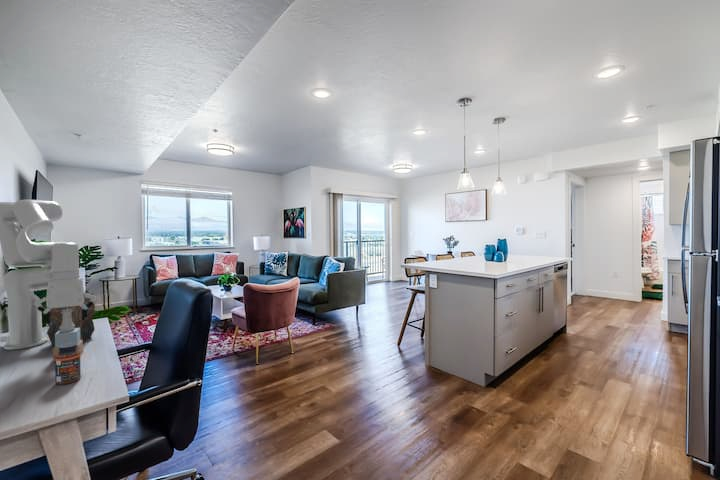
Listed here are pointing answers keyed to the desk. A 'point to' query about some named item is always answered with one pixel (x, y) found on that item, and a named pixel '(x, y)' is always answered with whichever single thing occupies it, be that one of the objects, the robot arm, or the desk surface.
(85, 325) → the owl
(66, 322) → the rook chess piece
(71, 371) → the supplement bottle
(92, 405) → the desk surface
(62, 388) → the desk surface
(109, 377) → the desk surface
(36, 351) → the desk surface
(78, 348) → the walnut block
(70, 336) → the slate block
